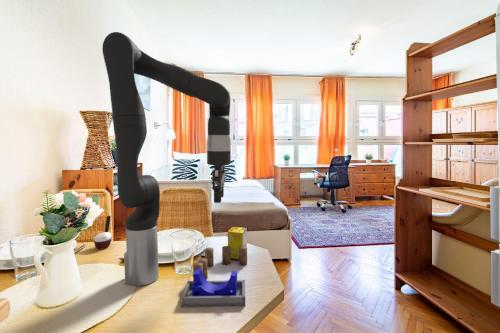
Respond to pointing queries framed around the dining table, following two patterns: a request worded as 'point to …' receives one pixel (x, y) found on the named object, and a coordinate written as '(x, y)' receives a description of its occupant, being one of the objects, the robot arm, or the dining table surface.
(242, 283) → the tray
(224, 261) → the spacer
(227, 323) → the dining table surface
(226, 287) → the cable clip
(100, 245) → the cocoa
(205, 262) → the spacer
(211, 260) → the block
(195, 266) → the spacer
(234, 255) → the supplement box
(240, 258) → the spacer
